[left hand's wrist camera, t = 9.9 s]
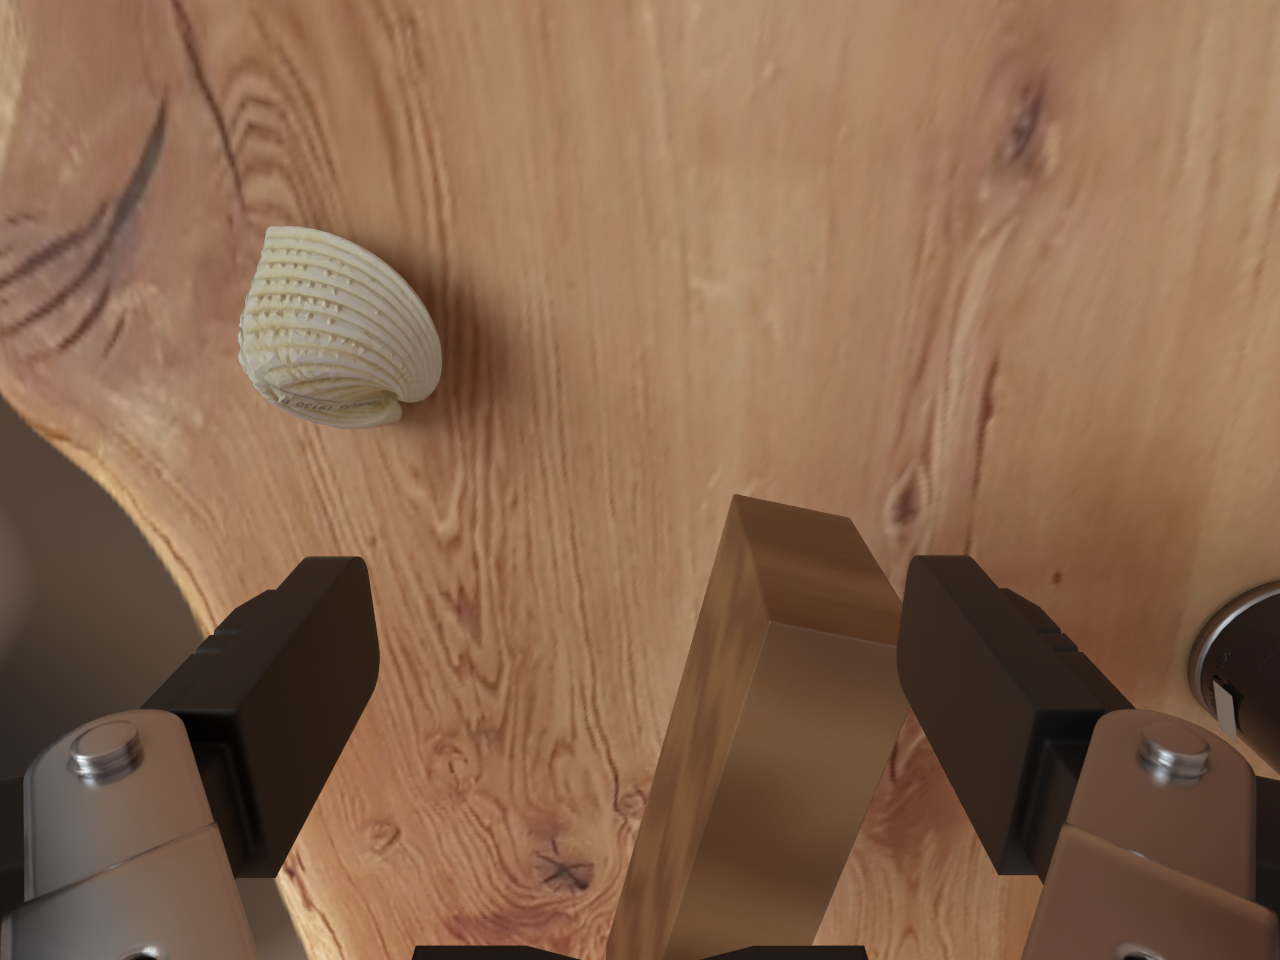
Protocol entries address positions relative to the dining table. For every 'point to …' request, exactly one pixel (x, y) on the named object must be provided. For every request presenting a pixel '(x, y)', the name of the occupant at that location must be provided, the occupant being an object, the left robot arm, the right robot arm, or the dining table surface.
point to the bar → (767, 741)
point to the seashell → (335, 332)
